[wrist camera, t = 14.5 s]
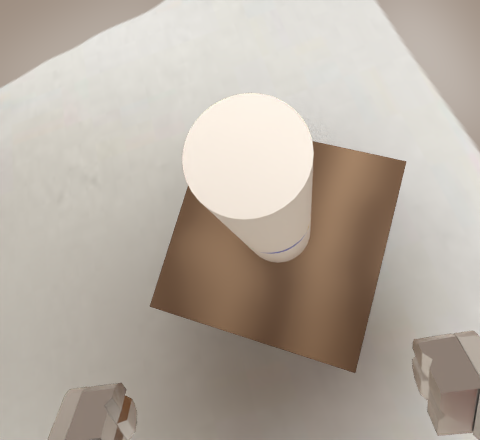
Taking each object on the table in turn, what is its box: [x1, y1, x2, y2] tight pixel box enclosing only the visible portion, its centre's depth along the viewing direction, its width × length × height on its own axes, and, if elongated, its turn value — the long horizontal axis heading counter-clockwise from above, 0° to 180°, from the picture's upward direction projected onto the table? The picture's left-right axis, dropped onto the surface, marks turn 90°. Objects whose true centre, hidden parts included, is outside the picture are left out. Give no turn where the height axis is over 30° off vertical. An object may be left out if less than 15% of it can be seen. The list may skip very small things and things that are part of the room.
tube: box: [182, 93, 314, 263], centre depth 21 cm, size 4×4×15 cm
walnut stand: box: [150, 141, 406, 373], centre depth 30 cm, size 14×14×5 cm
